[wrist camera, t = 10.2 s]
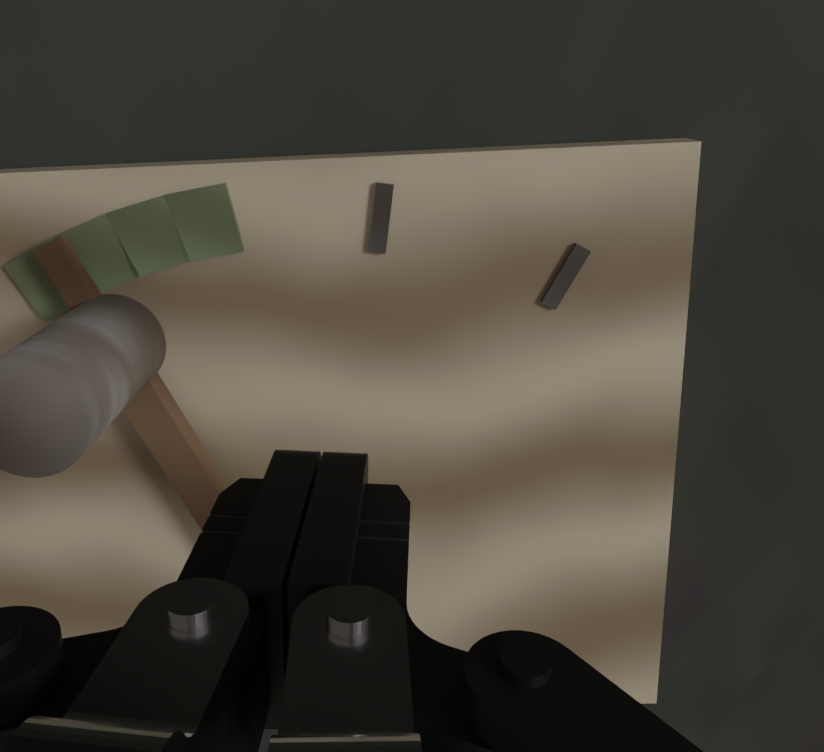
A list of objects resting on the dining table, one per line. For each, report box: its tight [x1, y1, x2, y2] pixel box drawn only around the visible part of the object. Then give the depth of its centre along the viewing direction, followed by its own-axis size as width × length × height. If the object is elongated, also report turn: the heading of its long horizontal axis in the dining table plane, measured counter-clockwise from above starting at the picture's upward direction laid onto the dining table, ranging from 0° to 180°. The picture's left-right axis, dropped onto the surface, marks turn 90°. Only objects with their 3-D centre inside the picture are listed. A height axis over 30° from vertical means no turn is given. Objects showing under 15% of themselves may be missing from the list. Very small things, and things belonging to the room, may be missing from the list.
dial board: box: [0, 138, 701, 704], centre depth 27 cm, size 20×24×2 cm
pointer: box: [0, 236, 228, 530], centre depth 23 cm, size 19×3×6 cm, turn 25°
